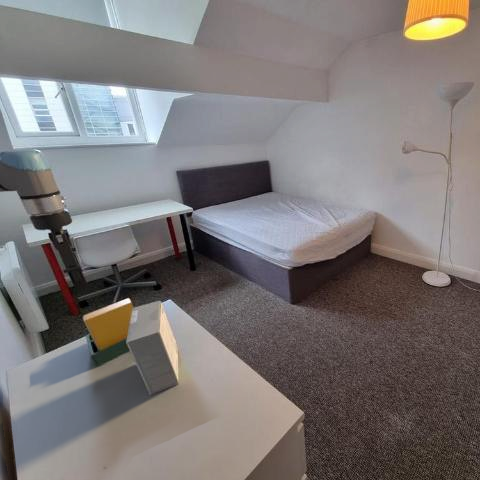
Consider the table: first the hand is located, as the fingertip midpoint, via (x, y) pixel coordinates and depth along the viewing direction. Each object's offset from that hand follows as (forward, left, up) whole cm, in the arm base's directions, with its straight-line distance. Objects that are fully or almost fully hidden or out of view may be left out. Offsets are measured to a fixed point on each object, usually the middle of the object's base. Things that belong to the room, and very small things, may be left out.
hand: (79, 280), depth 79 cm
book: (+3, +2, -27) cm, 27 cm away
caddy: (+1, +3, -27) cm, 28 cm away
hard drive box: (+23, -7, -28) cm, 37 cm away
